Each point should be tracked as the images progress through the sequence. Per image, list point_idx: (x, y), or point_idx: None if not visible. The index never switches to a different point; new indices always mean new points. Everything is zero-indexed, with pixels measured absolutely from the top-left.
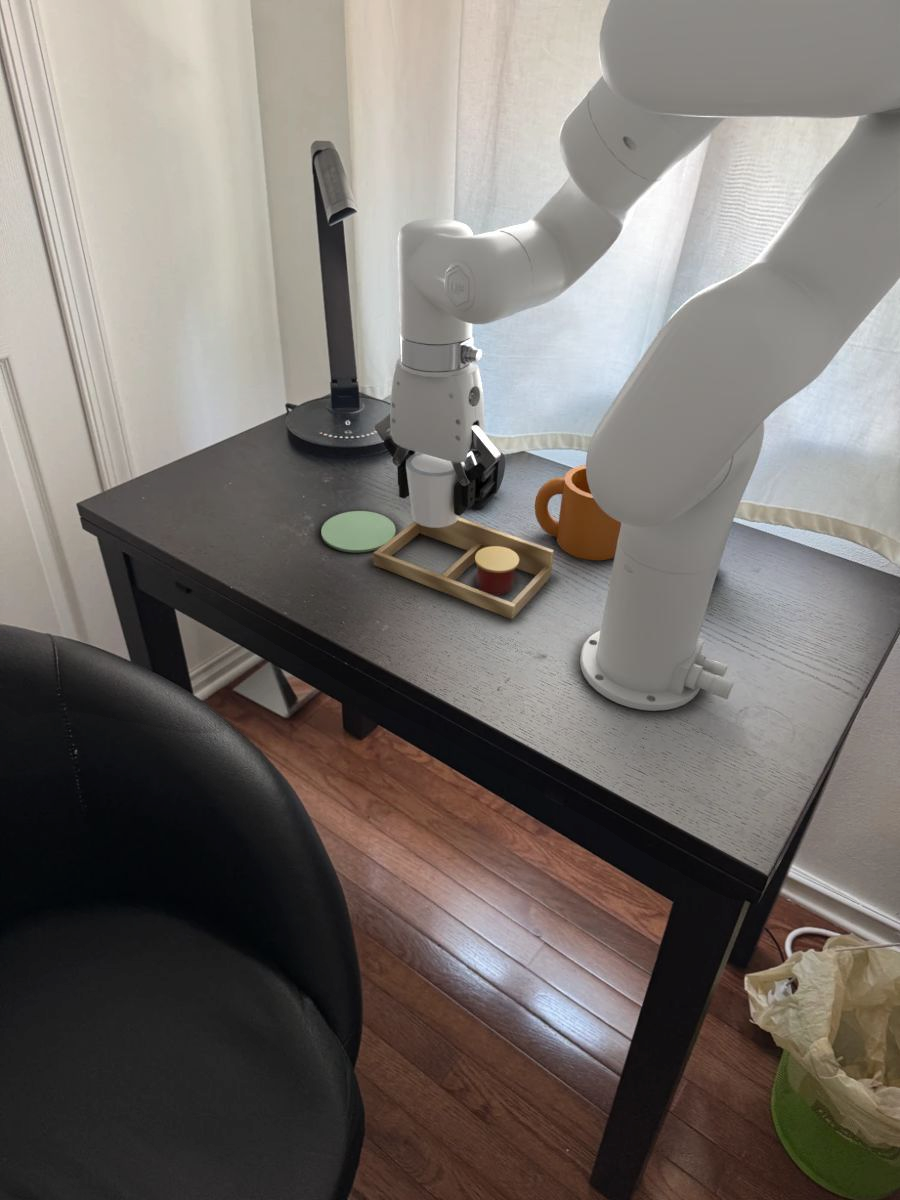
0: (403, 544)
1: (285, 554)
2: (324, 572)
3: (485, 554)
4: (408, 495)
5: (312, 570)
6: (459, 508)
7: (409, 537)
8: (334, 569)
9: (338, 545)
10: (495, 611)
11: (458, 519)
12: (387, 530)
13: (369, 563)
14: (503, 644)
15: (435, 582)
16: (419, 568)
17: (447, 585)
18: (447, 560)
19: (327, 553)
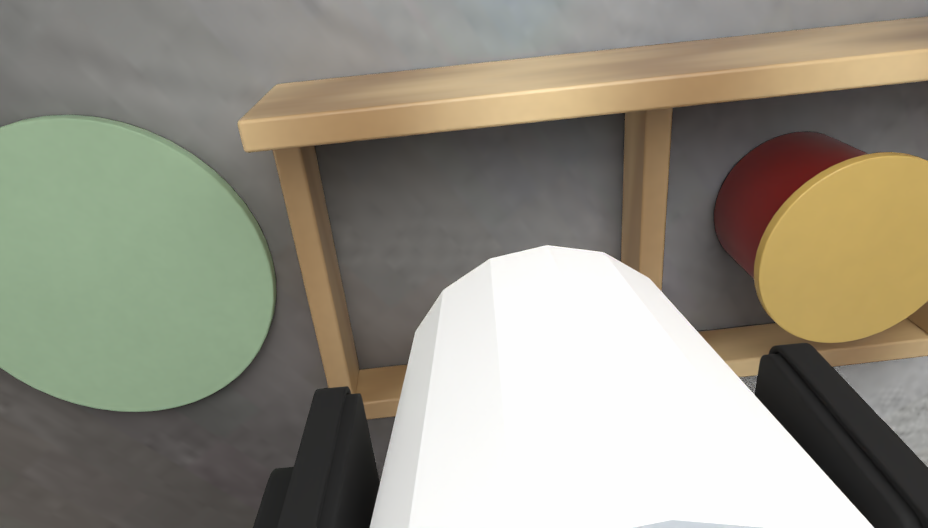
0: (332, 240)
1: (77, 511)
2: (256, 498)
3: (802, 266)
4: (379, 482)
5: (220, 511)
6: None
7: (320, 199)
8: (265, 472)
9: (157, 400)
10: None
11: (540, 114)
12: (195, 207)
13: (323, 387)
14: (913, 417)
15: None
16: None
17: None
18: (542, 195)
19: (165, 433)
